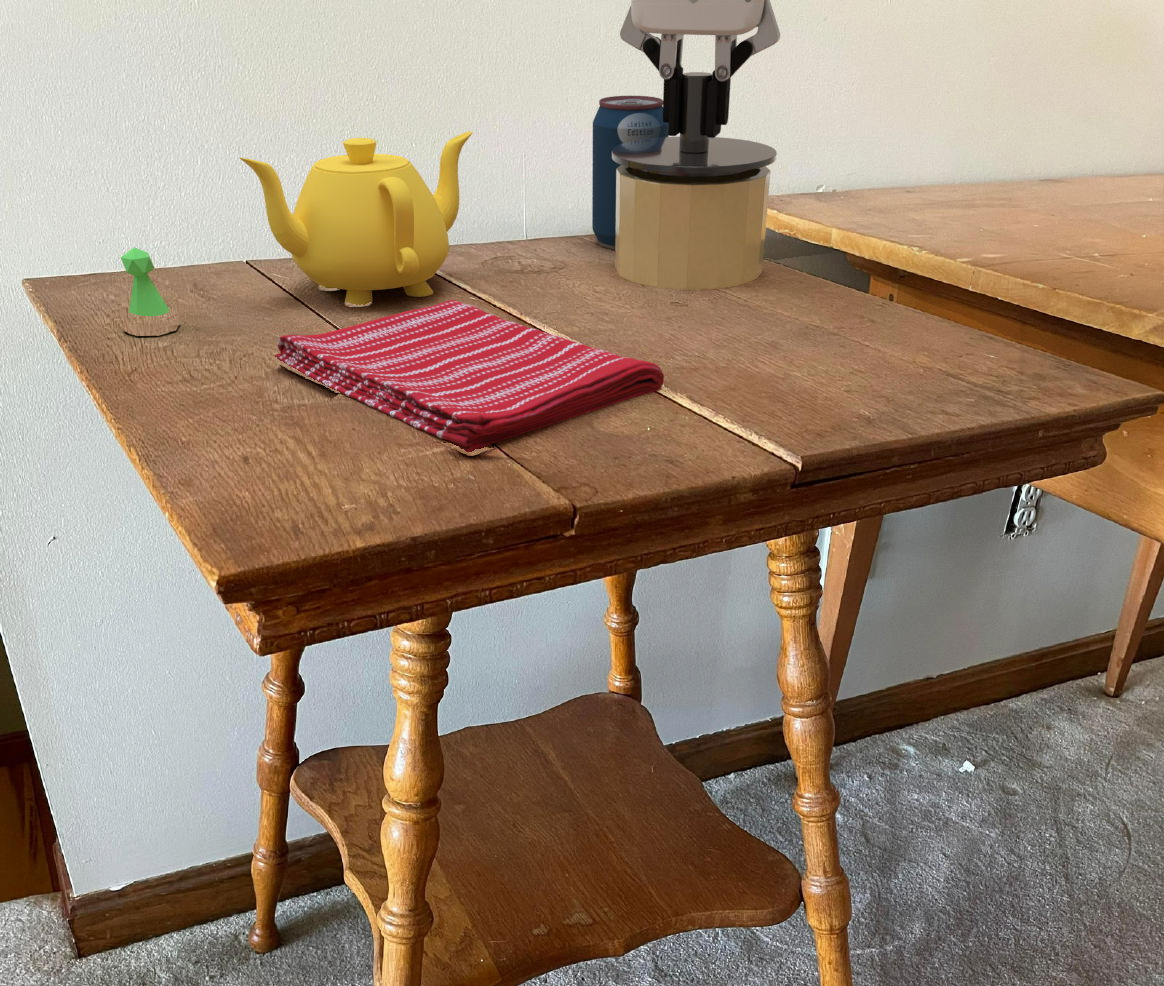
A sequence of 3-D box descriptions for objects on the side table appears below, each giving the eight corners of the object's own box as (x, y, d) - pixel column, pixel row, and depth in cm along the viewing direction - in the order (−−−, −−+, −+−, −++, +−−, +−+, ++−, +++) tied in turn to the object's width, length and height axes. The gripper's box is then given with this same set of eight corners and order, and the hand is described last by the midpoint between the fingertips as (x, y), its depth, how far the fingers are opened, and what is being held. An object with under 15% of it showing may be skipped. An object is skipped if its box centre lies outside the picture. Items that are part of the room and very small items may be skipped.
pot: (771, 262, 108) (780, 158, 103) (746, 301, 98) (755, 188, 93) (636, 253, 111) (638, 151, 106) (599, 290, 101) (599, 180, 96)
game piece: (186, 332, 92) (170, 249, 89) (129, 340, 91) (110, 257, 87) (174, 317, 95) (158, 237, 92) (119, 325, 94) (100, 244, 90)
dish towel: (474, 464, 71) (472, 421, 70) (269, 368, 85) (263, 330, 84) (674, 396, 80) (675, 356, 79) (459, 320, 94) (457, 285, 93)
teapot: (302, 335, 92) (278, 170, 85) (235, 290, 101) (209, 139, 95) (526, 294, 100) (521, 141, 93) (444, 256, 110) (434, 116, 103)
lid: (787, 154, 103) (794, 65, 99) (760, 186, 92) (768, 88, 88) (634, 147, 106) (635, 61, 102) (592, 177, 96) (592, 82, 92)
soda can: (660, 253, 111) (664, 106, 103) (586, 250, 112) (586, 104, 104) (668, 235, 116) (674, 95, 109) (598, 232, 117) (599, 93, 110)
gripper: (587, -150, 86) (587, 137, 97) (812, -152, 82) (785, 146, 93) (614, -149, 91) (612, 122, 103) (825, -151, 88) (799, 130, 99)
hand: (694, 131), depth 98 cm, fingers closed on lid, 2 cm apart
